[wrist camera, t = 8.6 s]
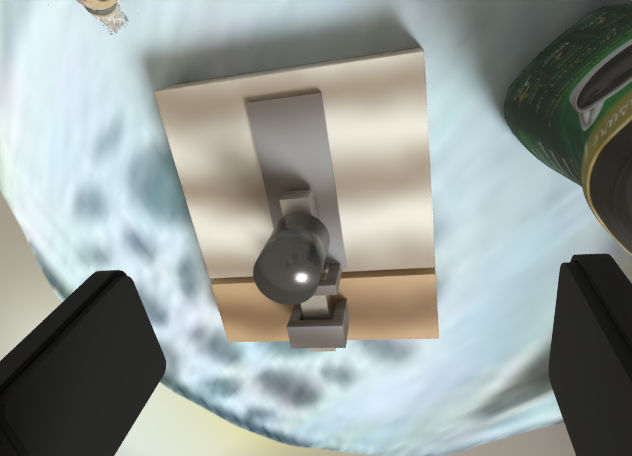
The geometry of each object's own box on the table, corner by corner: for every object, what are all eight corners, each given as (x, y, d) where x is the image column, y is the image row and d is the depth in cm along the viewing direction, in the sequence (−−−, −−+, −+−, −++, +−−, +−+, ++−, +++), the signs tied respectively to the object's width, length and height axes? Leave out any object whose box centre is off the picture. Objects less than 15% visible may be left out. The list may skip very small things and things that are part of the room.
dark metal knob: (271, 192, 32) (242, 234, 26) (326, 187, 31) (310, 229, 25) (302, 338, 37) (284, 400, 31) (349, 337, 36) (340, 401, 30)
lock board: (173, 84, 33) (127, 101, 28) (421, 47, 29) (427, 57, 24) (238, 320, 42) (214, 369, 37) (436, 315, 38) (442, 368, 33)
